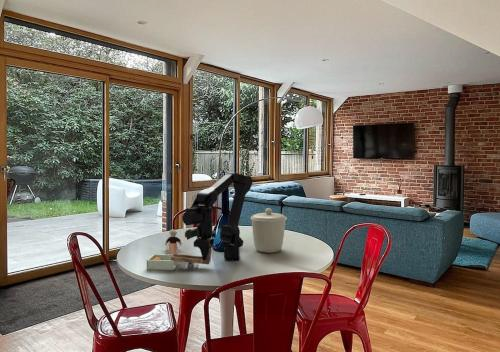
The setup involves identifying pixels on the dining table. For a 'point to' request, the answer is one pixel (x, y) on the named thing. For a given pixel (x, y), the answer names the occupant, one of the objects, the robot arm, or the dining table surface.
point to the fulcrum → (190, 266)
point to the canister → (268, 231)
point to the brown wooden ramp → (192, 258)
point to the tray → (161, 262)
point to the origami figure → (168, 244)
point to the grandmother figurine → (173, 242)
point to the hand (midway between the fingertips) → (205, 258)
